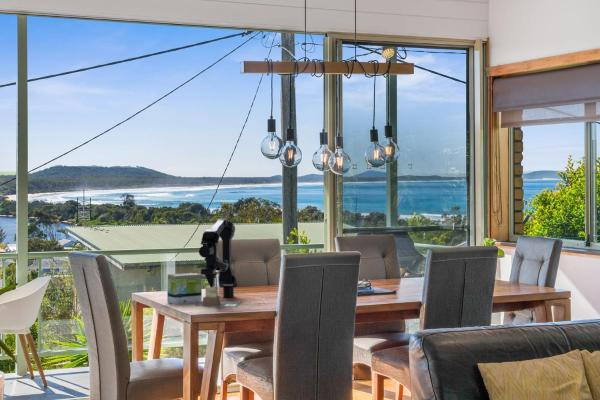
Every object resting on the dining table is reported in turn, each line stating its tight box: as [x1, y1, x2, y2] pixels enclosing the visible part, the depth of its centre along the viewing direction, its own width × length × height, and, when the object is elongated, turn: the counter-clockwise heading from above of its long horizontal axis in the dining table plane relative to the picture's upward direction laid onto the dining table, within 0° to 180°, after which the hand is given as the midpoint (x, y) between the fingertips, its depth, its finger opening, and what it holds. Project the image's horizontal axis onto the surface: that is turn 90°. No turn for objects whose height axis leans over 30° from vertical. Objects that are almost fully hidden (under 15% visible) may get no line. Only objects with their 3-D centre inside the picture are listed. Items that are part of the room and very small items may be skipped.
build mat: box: [193, 300, 244, 308], centre depth 426 cm, size 16×22×1 cm
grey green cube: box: [205, 285, 219, 298], centre depth 423 cm, size 5×5×5 cm
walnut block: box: [202, 295, 221, 307], centre depth 424 cm, size 7×7×4 cm
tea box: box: [166, 272, 203, 305], centre depth 436 cm, size 15×10×15 cm, turn 126°
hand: (211, 286), depth 423 cm, fingers closed
